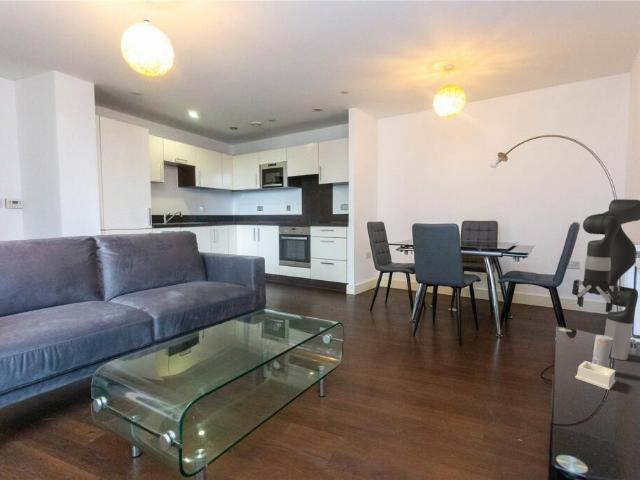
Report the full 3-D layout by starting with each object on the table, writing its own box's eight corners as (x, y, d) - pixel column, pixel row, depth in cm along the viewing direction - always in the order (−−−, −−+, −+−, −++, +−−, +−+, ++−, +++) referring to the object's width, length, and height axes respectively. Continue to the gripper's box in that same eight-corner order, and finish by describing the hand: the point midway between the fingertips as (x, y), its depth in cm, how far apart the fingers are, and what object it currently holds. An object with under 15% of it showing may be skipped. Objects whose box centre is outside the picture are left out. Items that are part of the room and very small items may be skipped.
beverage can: (611, 375, 138) (616, 340, 136) (595, 373, 139) (600, 338, 137) (602, 369, 143) (607, 335, 142) (588, 367, 144) (592, 333, 143)
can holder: (582, 371, 140) (584, 360, 139) (615, 382, 132) (616, 370, 131) (575, 378, 133) (576, 366, 133) (609, 389, 125) (610, 377, 125)
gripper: (625, 269, 124) (620, 312, 126) (579, 264, 136) (576, 303, 138) (617, 272, 120) (613, 315, 122) (571, 266, 132) (568, 306, 134)
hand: (593, 309), depth 130 cm, fingers open, 8 cm apart
